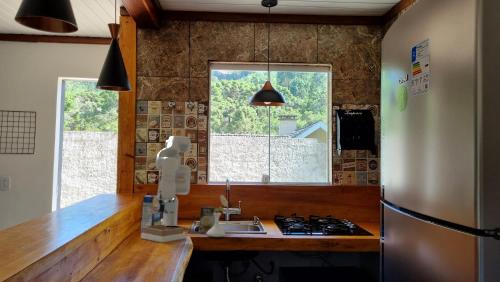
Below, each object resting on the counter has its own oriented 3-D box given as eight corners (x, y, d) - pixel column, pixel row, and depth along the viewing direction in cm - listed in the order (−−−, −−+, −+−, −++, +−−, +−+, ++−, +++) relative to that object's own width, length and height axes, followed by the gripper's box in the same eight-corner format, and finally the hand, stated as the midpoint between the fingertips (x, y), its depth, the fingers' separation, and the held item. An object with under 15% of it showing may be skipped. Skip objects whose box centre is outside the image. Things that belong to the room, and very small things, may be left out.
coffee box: (198, 232, 218) (200, 207, 220) (200, 231, 224) (202, 206, 226) (212, 234, 217) (214, 208, 219) (214, 232, 223) (216, 207, 225)
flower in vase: (214, 239, 200) (217, 195, 203) (202, 236, 208) (205, 194, 210) (231, 237, 210) (233, 195, 212) (218, 234, 217) (220, 194, 220)
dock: (140, 238, 191) (141, 226, 191) (165, 234, 206) (165, 224, 206) (161, 242, 182) (162, 230, 183) (185, 238, 197) (185, 227, 198)
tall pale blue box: (157, 212, 195) (158, 201, 196) (163, 211, 199) (164, 201, 200) (167, 213, 191) (168, 202, 192) (173, 213, 195) (174, 202, 196)
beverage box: (140, 233, 204) (143, 196, 207) (150, 231, 215) (153, 195, 217) (150, 234, 202) (153, 196, 205) (160, 232, 213) (163, 196, 215)
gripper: (174, 179, 207) (171, 210, 205) (152, 178, 192) (149, 211, 190) (183, 179, 202) (180, 211, 200) (161, 178, 188) (158, 212, 186)
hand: (165, 211), depth 195 cm, fingers closed on tall pale blue box, 5 cm apart
